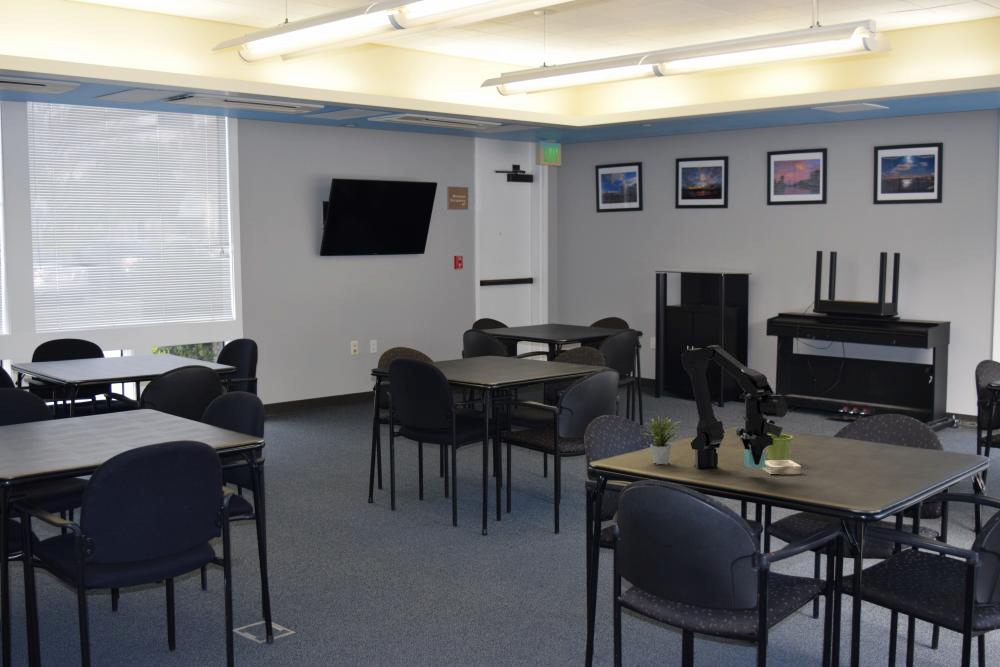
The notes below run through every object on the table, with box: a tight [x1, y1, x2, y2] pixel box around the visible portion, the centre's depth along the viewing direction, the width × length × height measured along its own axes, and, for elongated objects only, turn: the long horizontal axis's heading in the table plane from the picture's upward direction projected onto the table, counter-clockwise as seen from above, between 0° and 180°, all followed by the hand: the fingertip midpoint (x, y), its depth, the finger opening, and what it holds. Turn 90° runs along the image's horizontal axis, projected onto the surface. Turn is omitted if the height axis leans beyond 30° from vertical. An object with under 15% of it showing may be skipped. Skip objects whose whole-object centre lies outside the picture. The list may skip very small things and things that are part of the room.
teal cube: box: [743, 449, 766, 469], centre depth 316 cm, size 5×5×5 cm
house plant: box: [642, 415, 683, 465], centre depth 338 cm, size 14×14×16 cm
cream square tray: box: [761, 459, 802, 475], centre depth 324 cm, size 10×10×3 cm
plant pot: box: [766, 433, 793, 460], centre depth 338 cm, size 9×9×9 cm
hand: (754, 462), depth 316 cm, fingers closed on teal cube, 5 cm apart
